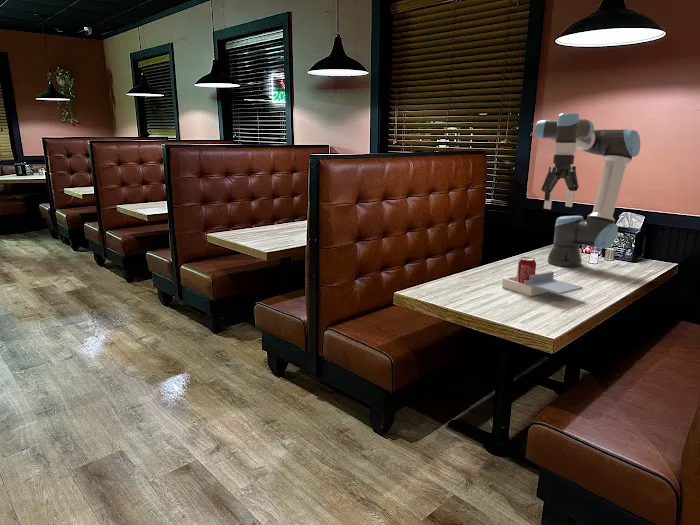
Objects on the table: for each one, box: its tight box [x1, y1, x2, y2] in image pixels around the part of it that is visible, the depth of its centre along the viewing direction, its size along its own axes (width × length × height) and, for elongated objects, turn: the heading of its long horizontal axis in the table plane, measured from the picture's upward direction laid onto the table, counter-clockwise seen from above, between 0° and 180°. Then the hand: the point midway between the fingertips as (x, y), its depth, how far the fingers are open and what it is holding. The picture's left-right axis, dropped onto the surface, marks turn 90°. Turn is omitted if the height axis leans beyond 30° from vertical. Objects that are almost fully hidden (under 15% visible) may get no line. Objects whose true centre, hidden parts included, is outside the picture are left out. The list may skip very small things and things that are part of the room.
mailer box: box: [502, 275, 549, 297], centre depth 201 cm, size 14×14×4 cm
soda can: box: [516, 256, 537, 286], centre depth 199 cm, size 7×7×12 cm
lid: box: [527, 270, 584, 296], centre depth 190 cm, size 14×14×4 cm
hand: (558, 207), depth 202 cm, fingers open, 13 cm apart
